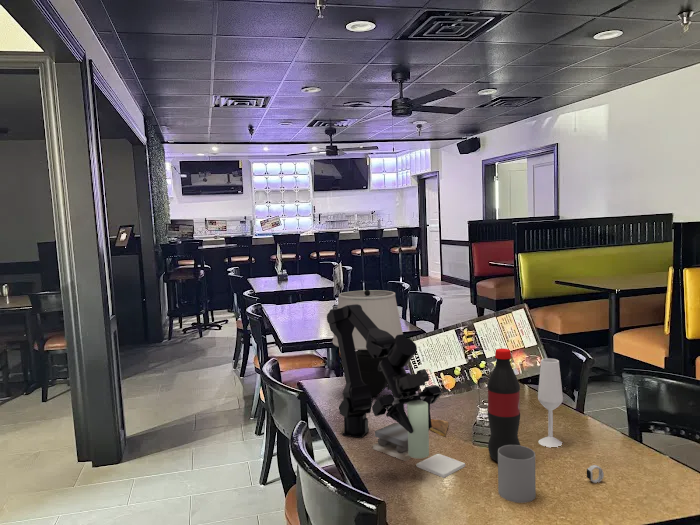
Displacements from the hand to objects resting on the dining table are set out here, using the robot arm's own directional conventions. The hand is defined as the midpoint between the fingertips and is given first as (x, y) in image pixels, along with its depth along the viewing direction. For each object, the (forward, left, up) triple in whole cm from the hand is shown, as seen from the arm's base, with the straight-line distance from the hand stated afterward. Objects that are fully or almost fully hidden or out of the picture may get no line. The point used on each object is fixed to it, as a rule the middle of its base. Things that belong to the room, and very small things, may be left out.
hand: (421, 430), depth 134 cm
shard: (-3, +34, -13) cm, 37 cm away
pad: (+3, +8, -12) cm, 15 cm away
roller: (-1, +1, -7) cm, 7 cm away
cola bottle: (+18, +18, -13) cm, 28 cm away
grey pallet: (-11, +15, -12) cm, 22 cm away
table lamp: (-36, +58, -13) cm, 70 cm away
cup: (+23, 0, -13) cm, 26 cm away
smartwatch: (+40, +12, -13) cm, 43 cm away
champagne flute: (+29, +33, -13) cm, 46 cm away
